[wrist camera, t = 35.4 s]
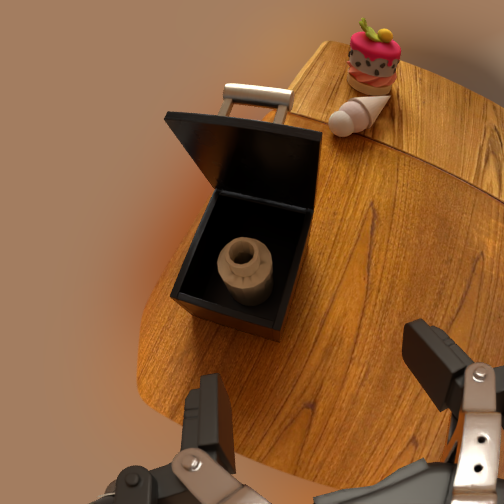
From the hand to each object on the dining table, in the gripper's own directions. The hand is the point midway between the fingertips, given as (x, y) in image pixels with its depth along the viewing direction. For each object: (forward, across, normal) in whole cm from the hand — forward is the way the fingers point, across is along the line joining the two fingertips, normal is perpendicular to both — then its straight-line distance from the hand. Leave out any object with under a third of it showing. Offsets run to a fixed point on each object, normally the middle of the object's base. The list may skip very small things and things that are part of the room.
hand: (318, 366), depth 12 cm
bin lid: (+18, 0, -6) cm, 19 cm away
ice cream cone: (+44, -23, -9) cm, 50 cm away
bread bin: (+27, +2, +8) cm, 28 cm away
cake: (+52, -31, -18) cm, 63 cm away
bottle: (+26, +2, +8) cm, 27 cm away
